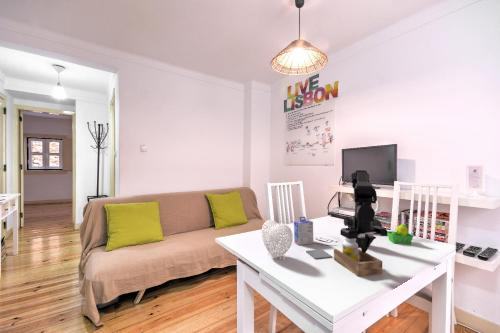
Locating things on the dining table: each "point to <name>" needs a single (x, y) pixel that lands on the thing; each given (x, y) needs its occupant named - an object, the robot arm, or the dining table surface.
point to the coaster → (319, 254)
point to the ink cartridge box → (303, 231)
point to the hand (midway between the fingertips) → (363, 252)
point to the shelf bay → (359, 263)
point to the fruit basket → (400, 235)
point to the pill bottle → (350, 248)
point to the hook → (376, 221)
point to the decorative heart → (276, 238)
